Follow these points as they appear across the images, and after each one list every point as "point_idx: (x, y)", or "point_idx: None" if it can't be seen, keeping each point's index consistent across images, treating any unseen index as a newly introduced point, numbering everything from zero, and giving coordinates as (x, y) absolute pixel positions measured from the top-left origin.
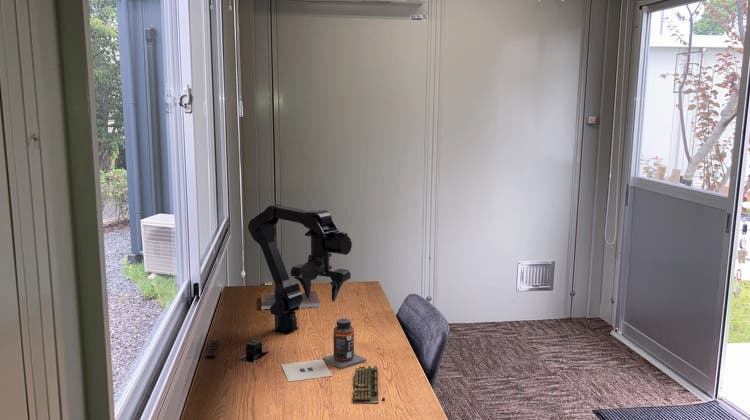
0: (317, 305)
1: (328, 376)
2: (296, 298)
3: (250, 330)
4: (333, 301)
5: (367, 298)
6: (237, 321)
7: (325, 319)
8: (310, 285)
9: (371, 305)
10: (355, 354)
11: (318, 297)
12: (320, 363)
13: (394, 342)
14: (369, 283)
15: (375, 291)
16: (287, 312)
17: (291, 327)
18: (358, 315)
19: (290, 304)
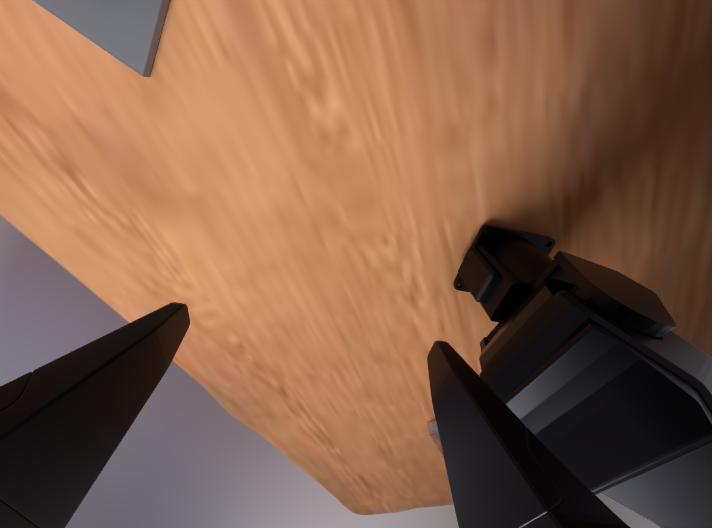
0: (434, 425)
1: None
2: (524, 364)
3: (642, 231)
4: (174, 306)
5: (333, 468)
6: (684, 299)
7: (386, 363)
8: (452, 482)
9: (306, 444)
10: (62, 16)
11: (442, 455)
12: None
13: (67, 242)
14: (360, 511)
15: (333, 491)
16: (533, 292)
17: (480, 253)
18: (308, 398)
19: (550, 301)
